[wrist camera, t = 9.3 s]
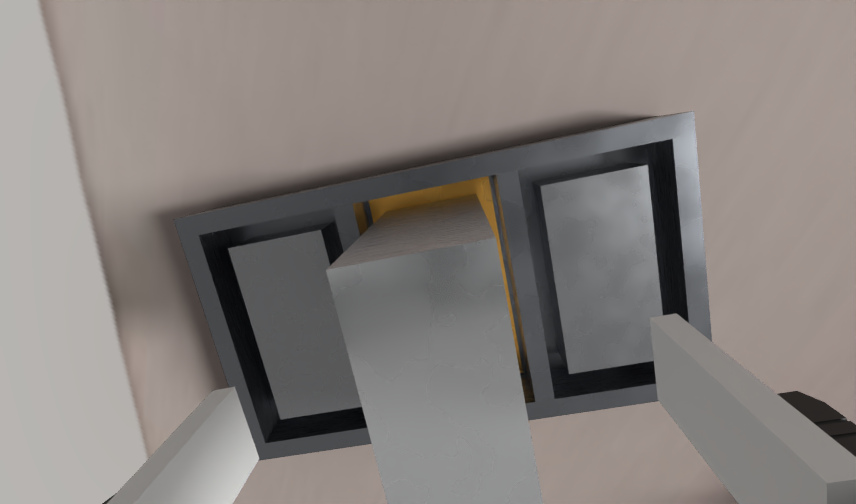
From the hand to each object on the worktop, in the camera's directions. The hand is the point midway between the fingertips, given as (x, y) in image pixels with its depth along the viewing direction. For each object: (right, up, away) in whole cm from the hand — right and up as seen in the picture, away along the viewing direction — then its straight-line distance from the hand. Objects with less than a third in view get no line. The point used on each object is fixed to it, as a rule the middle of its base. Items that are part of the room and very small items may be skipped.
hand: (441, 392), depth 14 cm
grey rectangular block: (+1, +2, +12) cm, 12 cm away
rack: (+1, +2, +12) cm, 13 cm away
